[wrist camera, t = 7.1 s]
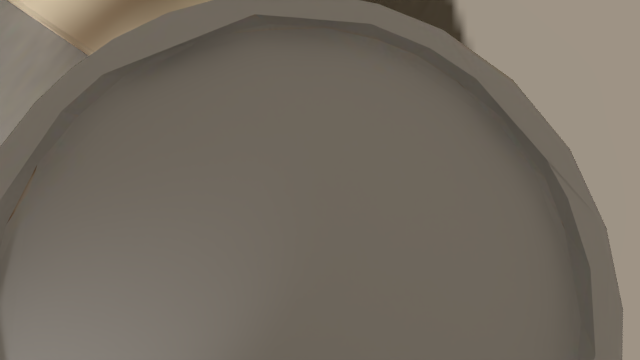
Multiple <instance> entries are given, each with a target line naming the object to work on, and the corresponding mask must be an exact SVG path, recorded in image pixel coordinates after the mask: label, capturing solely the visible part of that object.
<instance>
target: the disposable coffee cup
mask: <svg viewBox="0 0 640 360" xmlns="http://www.w3.org/2000/svg"><path fill="white" fill-rule="evenodd" d="M622 320H623V308H622V303H621V298H620V293H619V288H618V283H617V278H616V274H615V268H614V263H613V259H612V254H611V249H610V244H609V239H608V234H607V229H606V226H605V224H604V222H603V220H602V218H601V215H600V213H599V211H598V209H597V207H596V205H595V202H594V201H593V198H592V196H591V194H590V192H589V189H588V187H587V185H586V183H585V181H584V179H583V177H582V174H581V172H580V170H579V168H578V166H577V164H576V161H575V159H574V157H573V155H572V153H571V151H570V149H569V148H568V146H567V145H566V144H565V143H564V142H563V140H562V139H561V138H560V137H559V136H558V134H557V133H556V132H555V131H554V129H553V128H552V127H551V126H550V125H549V123H548V122H547V121H546V120H545V118H544V117H543V116H542V115H541V114H540V112H539V111H538V110H537V109H536V108H535V106H533V104H532V103H531V102H530V101H529V99H528V98H527V97H526V95H525V94H524V93H523V92H522V91H521V89H520V88H519V87H518V86H517V85H516V83H515V82H514V81H513V80H512V79H510V78H509V77H508V76H506V75H505V74H504V73H502V72H501V71H499V70H498V69H497V68H495V67H494V66H493V65H491V64H490V63H488V62H487V61H486V60H484V59H483V58H481V57H480V56H478V55H477V54H476V53H474V52H473V51H472V50H470V49H469V48H468V47H466V46H465V45H463V44H462V43H461V42H459V41H458V40H456V39H455V38H454V37H452V36H451V35H449V34H448V33H447V32H445V31H444V30H442V29H440V28H437V27H435V26H432V25H430V24H427V23H425V22H422V21H420V20H417V19H415V18H412V17H410V16H407V15H405V14H402V13H400V12H397V11H395V10H392V9H390V8H387V7H385V6H382V5H380V4H377V3H372V2H367V1H362V0H212V1H208V2H205V3H201V4H197V5H194V6H190V7H187V8H183V9H179V10H176V11H172V12H168V13H166V14H164V15H162V16H160V17H158V18H156V19H154V20H151V21H149V22H147V23H145V24H143V25H141V26H139V27H137V28H135V29H133V30H131V31H129V32H126V33H124V34H122V35H120V36H118V37H116V38H114V39H112V40H111V41H110V42H108V43H107V44H105V45H104V46H102V47H101V48H100V49H98V50H97V51H95V52H94V53H92V54H91V55H90V56H88V57H87V58H85V59H84V60H82V61H81V62H80V63H78V64H77V65H75V66H74V67H72V68H71V69H70V70H69V71H68V72H67V73H66V74H65V75H64V76H62V77H61V78H60V79H59V80H58V81H57V82H56V83H55V84H54V85H53V86H52V87H51V88H50V89H49V90H48V91H47V92H46V93H44V94H43V95H42V96H41V97H40V98H39V99H38V100H37V101H36V102H35V103H34V104H33V106H32V107H31V108H30V109H29V111H28V112H27V113H26V115H25V116H24V117H23V118H22V120H21V121H20V122H19V124H18V125H17V126H16V127H15V129H14V130H13V131H12V133H11V134H10V135H9V136H8V138H7V139H6V140H5V141H4V143H3V144H2V145H1V147H0V360H622V327H623V326H622V325H623V321H622Z"/></svg>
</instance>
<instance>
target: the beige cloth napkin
mask: <svg viewBox="0 0 640 360" xmlns="http://www.w3.org/2000/svg"><path fill="white" fill-rule="evenodd" d="M7 1H9V2H10V3H12V4H13V5H15V6H16V7H18V8H19V9H21V10H22V11H24V12H25V13H27V14H28V15H29V16H31V17H32V18H34V19H35V20H37V21H38V22H40V23H41V24H43V25H44V26H46V27H47V28H49V29H50V30H52V31H53V32H54V33H56V34H57V35H59V36H60V37H62V38H63V39H65V40H66V41H68V42H69V43H71V44H72V45H74V46H75V47H76V48H78V49H79V50H81V51H82V52H84V53H85V54H87V55H88V56H90V55H91V54H92V53H94V52H95V51H97V50H98V49H100V48H101V47H102V46H104V45H105V44H107V43H108V42H110V41H111V40H112V39H114V38H116V37H118V36H120V35H122V34H124V33H126V32H129V31H131V30H133V29H135V28H137V27H139V26H141V25H143V24H145V23H147V22H149V21H151V20H154V19H156V18H158V17H160V16H162V15H164V14H166V13H168V12H172V11H176V10H179V9H183V8H187V7H190V6H194V5H197V4H201V3H205V2H208V1H212V0H7Z"/></svg>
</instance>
